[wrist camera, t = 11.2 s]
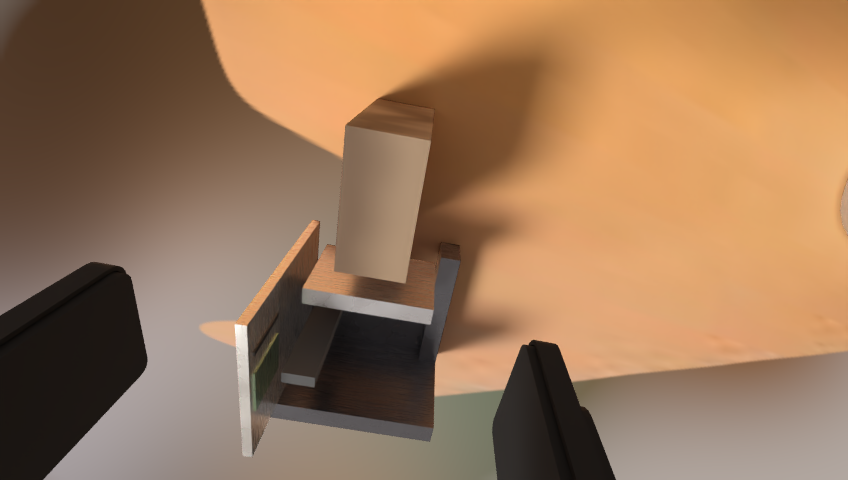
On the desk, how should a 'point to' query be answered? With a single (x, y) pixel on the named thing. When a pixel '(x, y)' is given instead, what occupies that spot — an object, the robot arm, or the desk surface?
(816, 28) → the desk surface
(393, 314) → the plate
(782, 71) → the desk surface
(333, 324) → the dark flat plank
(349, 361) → the stand
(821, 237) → the desk surface
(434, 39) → the desk surface
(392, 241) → the push block
